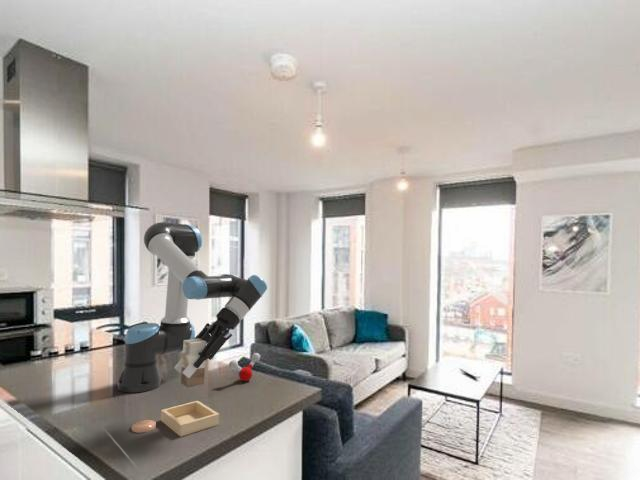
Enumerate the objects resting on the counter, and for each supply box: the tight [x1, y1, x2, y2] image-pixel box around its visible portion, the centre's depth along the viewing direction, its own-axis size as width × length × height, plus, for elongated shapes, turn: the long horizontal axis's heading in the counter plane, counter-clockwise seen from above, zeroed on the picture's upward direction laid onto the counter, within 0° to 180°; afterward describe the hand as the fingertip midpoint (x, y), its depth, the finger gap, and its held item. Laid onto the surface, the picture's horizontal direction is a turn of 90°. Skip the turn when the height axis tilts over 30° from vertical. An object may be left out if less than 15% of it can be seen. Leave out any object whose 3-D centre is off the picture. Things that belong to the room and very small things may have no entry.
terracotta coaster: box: [131, 419, 157, 434], centre depth 109 cm, size 6×6×1 cm
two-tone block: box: [180, 338, 207, 388], centre depth 114 cm, size 5×5×13 cm
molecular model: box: [228, 352, 261, 382], centre depth 155 cm, size 18×6×10 cm, turn 156°
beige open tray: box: [160, 400, 220, 438], centre depth 114 cm, size 14×12×4 cm
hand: (181, 372), depth 112 cm, fingers closed on two-tone block, 5 cm apart
